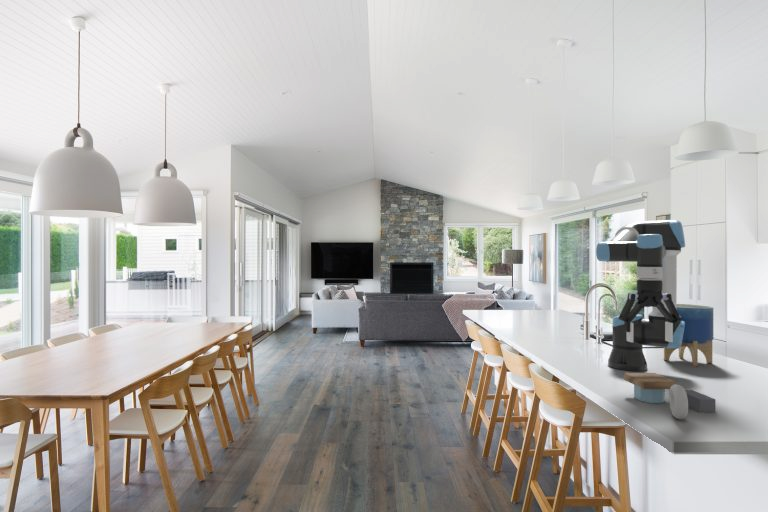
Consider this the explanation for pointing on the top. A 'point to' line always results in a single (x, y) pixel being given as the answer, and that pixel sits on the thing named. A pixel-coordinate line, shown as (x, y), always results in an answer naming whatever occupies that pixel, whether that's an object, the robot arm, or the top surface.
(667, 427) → the top surface
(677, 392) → the donut
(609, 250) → the robot arm
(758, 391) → the top surface
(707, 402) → the block
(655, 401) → the bowl
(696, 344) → the planter
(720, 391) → the top surface
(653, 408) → the top surface
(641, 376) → the board
